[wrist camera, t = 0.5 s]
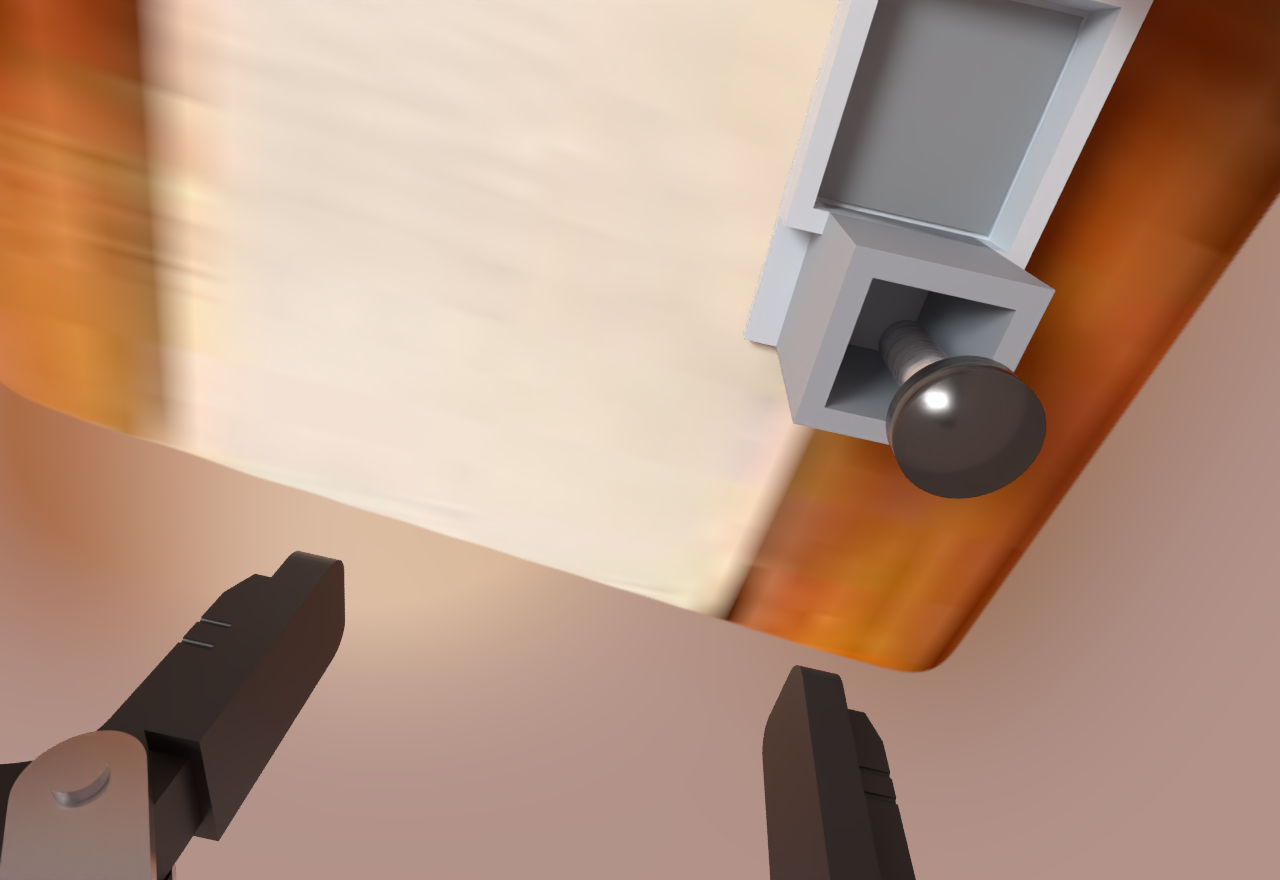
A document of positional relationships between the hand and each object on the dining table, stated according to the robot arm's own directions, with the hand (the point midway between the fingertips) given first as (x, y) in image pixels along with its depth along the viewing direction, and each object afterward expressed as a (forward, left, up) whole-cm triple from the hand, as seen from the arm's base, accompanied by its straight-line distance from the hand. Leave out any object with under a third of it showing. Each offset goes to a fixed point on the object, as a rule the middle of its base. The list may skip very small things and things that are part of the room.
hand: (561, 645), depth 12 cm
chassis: (-6, +11, -27) cm, 30 cm away
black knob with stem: (-1, +11, -19) cm, 22 cm away
